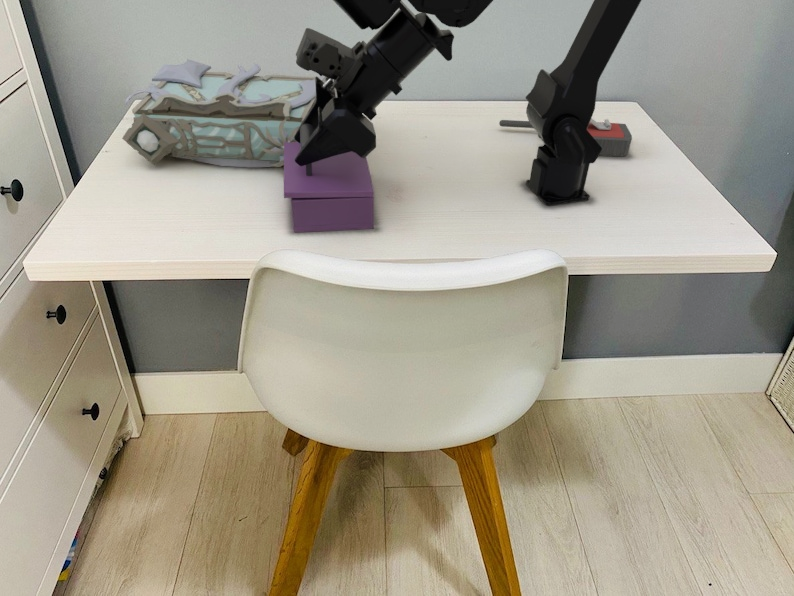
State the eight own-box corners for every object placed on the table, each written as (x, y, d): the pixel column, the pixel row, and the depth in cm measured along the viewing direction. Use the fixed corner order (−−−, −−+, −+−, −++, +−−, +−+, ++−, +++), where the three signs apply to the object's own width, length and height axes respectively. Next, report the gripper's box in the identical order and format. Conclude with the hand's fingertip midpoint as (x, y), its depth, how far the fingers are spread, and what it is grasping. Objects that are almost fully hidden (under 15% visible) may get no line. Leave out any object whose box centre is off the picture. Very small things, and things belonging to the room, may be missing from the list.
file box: (293, 232, 79) (291, 200, 76) (292, 179, 89) (290, 150, 87) (373, 228, 80) (373, 197, 77) (363, 177, 91) (362, 148, 88)
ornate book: (122, 175, 91) (337, 180, 89) (102, 108, 85) (332, 112, 83) (176, 113, 109) (355, 116, 107) (162, 53, 103) (353, 56, 101)
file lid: (284, 198, 76) (282, 158, 73) (284, 147, 86) (282, 111, 83) (373, 197, 77) (375, 158, 74) (362, 147, 88) (364, 111, 85)
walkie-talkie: (623, 134, 105) (497, 128, 105) (630, 107, 102) (501, 101, 102) (636, 158, 98) (501, 152, 98) (644, 130, 95) (505, 123, 96)
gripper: (332, -16, 78) (247, 79, 83) (343, 30, 63) (239, 141, 68) (396, 51, 83) (313, 136, 89) (420, 107, 69) (318, 204, 74)
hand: (297, 151), depth 80 cm, fingers closed on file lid, 6 cm apart
